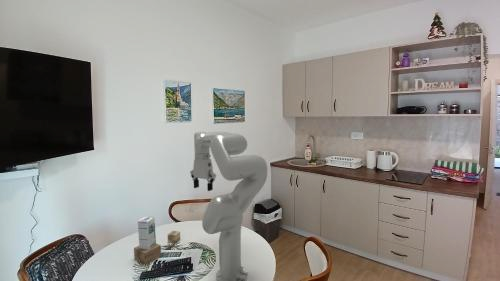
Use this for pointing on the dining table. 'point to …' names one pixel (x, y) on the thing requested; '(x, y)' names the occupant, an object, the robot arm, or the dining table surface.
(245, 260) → the dining table surface
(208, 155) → the robot arm
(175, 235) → the oak cube
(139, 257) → the brown cardboard box
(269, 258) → the dining table surface
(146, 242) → the syrup box
